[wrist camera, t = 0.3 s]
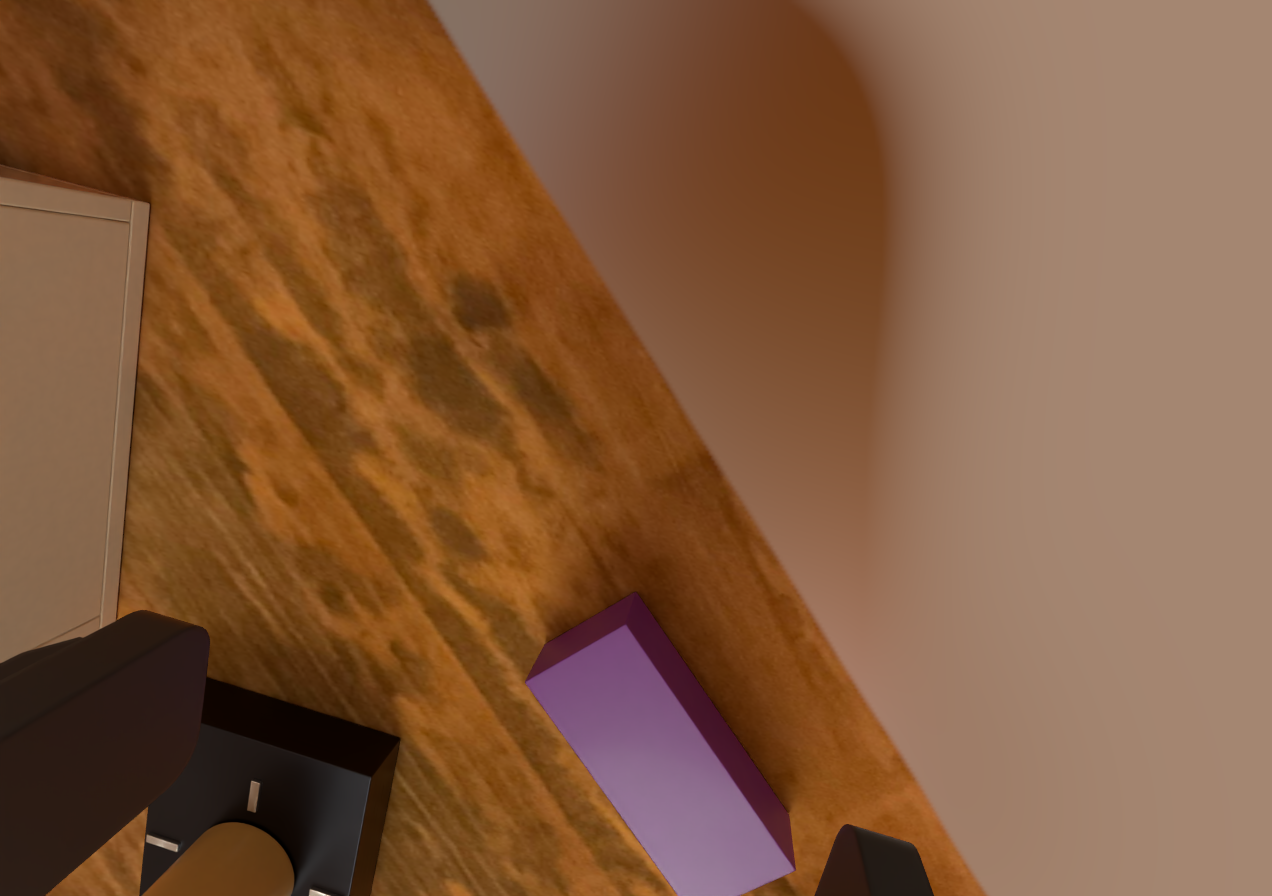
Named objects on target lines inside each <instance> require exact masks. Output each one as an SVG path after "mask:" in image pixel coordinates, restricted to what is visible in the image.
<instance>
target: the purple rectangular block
mask: <svg viewBox="0 0 1272 896" xmlns="http://www.w3.org/2000/svg"><path fill="white" fill-rule="evenodd" d="M525 683H526V684H527V686H528V687H529V689H530V690H531V691H532V693H533V694H534V696H535V697H536V698H537V700H538V701H539V703H540V704H541V705H542V707H543V708H544V710H545V711H546V712H547V714H548V715H549V716H550V718H551V719H552V721H553V722H554V723H555V725H556V726H557V728H558V729H559V730H560V732H561V733H562V735H563V736H564V737H565V739H566V740H567V742H568V743H569V744H570V746H571V747H572V749H573V750H574V751H575V753H576V754H577V756H578V757H579V758H580V760H581V761H582V763H583V764H584V765H585V767H586V768H587V770H588V771H589V772H590V774H591V775H592V777H593V778H594V779H595V781H596V782H597V784H598V785H599V786H600V788H601V789H602V790H603V792H604V793H605V795H606V796H607V797H608V799H609V800H610V802H611V803H612V804H613V806H614V807H615V809H616V810H617V811H618V813H619V814H620V816H621V817H622V818H623V820H624V821H625V823H626V824H627V825H628V827H629V828H630V830H631V831H632V832H633V834H634V835H635V837H636V838H637V839H638V841H639V842H640V844H641V845H642V846H643V848H644V849H645V851H646V852H647V853H648V855H649V856H650V858H651V859H652V860H653V862H654V863H655V864H656V866H657V867H658V869H659V870H660V871H661V873H662V874H663V876H664V877H665V878H666V880H667V881H668V883H669V884H670V885H671V887H672V888H673V890H674V891H675V892H676V894H677V895H678V896H740V895H742V894H745V893H747V892H749V891H751V890H753V889H756V888H758V887H760V886H762V885H765V884H767V883H769V882H771V881H773V880H776V879H778V878H780V877H782V876H785V875H787V874H789V873H791V872H793V871H795V870H796V868H795V860H794V851H793V843H792V835H791V827H790V818H789V814H788V813H787V811H786V810H785V808H784V807H783V805H782V804H781V802H780V801H779V800H778V798H777V797H776V795H775V794H774V792H773V791H772V789H771V788H770V786H769V785H768V784H767V782H766V781H765V779H764V778H763V776H762V775H761V773H760V772H759V770H758V769H757V767H756V766H755V765H754V763H753V762H752V760H751V759H750V757H749V756H748V754H747V753H746V751H745V750H744V748H743V747H742V746H741V744H740V743H739V741H738V740H737V738H736V737H735V735H734V734H733V732H732V731H731V730H730V728H729V727H728V725H727V724H726V722H725V721H724V719H723V718H722V716H721V715H720V713H719V712H718V711H717V709H716V708H715V706H714V705H713V703H712V702H711V700H710V699H709V697H708V696H707V694H706V693H705V692H704V690H703V689H702V687H701V686H700V684H699V683H698V681H697V680H696V678H695V677H694V675H693V674H692V673H691V671H690V670H689V668H688V667H687V665H686V664H685V662H684V661H683V659H682V658H681V657H680V655H679V654H678V652H677V651H676V649H675V648H674V646H673V645H672V643H671V642H670V640H669V639H668V638H667V636H666V635H665V633H664V632H663V630H662V629H661V627H660V626H659V624H658V623H657V621H656V620H655V619H654V617H653V616H652V614H651V613H650V611H649V610H648V608H647V607H646V605H645V604H644V603H643V601H642V600H641V598H640V597H639V595H638V594H637V592H634V593H632V594H631V595H629V596H627V597H626V598H624V599H622V600H620V601H619V602H617V603H615V604H614V605H612V606H610V607H608V608H607V609H605V610H603V611H602V612H600V613H598V614H596V615H595V616H593V617H591V618H590V619H588V620H586V621H584V622H583V623H581V624H579V625H578V626H576V627H574V628H572V629H571V630H569V631H567V632H566V633H564V634H562V635H560V636H559V637H557V638H555V639H554V640H552V641H550V642H548V643H547V644H545V645H544V647H543V649H542V651H541V652H540V654H539V656H538V658H537V660H536V662H535V664H534V666H533V667H532V669H531V671H530V673H529V675H528V677H527V679H526V681H525Z"/></svg>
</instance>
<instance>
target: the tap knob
mask: <svg viewBox="0 0 1272 896" xmlns="http://www.w3.org/2000/svg"><path fill="white" fill-rule="evenodd" d="M293 887H294V871H293V867H292V864H291V861H290V859H289V857H288V855H287V853H286V852H285V850H284V849H283V848H282V846H281V845H280V844H279V843H278V842H277V841H276V840H275V839H274V838H273V837H271V836H270V835H269V834H267V833H266V832H264V831H263V830H261V829H259V828H257V827H254V826H252V825H249V824H245V823H239V822H227V823H222V824H218V825H216V826H213V827H211V828H210V829H208V830H207V831H206V832H204V833H203V834H202V835H201V836H200V837H199V838H198V839H197V840H196V841H195V842H194V843H193V844H192V845H191V846H190V847H189V848H188V849H187V850H186V851H185V852H184V853H183V854H182V855H181V856H180V857H179V858H178V859H177V860H176V861H175V863H174V864H173V865H172V866H171V867H170V868H169V869H168V870H167V871H166V872H165V873H164V874H163V875H162V876H161V877H160V878H159V879H158V880H157V881H156V882H155V883H154V884H153V885H152V886H151V887H150V888H149V889H148V890H147V891H146V892H145V893H144V894H143V895H142V896H291V894H292V891H293Z"/></svg>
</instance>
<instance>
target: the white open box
mask: <svg viewBox="0 0 1272 896" xmlns="http://www.w3.org/2000/svg"><path fill="white" fill-rule="evenodd" d="M149 210H150V204H149V203H148V202H144V201H140V200H136V199H132V198H129V197H125V196H121V195H117V194H113V193H110V192H106V191H102V190H98V189H94V188H90V187H87V186H83V185H79V184H75V183H71V182H68V181H64V180H60V179H56V178H52V177H48V176H45V175H41V174H37V173H33V172H29V171H26V170H22V169H18V168H14V167H10V166H7V165H3V164H0V663H2V662H4V661H6V660H8V659H10V658H12V657H14V656H16V655H18V654H20V653H23V652H26V651H30V650H33V649H37V648H41V647H44V646H48V645H52V644H55V643H59V642H62V641H66V640H70V639H73V638H77V637H82V638H84V637H86V636H88V635H89V634H91V633H93V632H95V631H97V630H99V629H101V628H103V627H105V626H107V625H109V624H111V623H113V622H115V621H116V613H117V601H118V589H119V577H120V564H121V552H122V540H123V528H124V516H125V503H126V491H127V479H128V467H129V454H130V442H131V430H132V418H133V406H134V393H135V381H136V369H137V357H138V345H139V332H140V320H141V308H142V296H143V284H144V271H145V259H146V247H147V235H148V223H149Z"/></svg>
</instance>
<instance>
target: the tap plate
mask: <svg viewBox="0 0 1272 896" xmlns="http://www.w3.org/2000/svg"><path fill="white" fill-rule="evenodd" d="M399 744H400V738H398V737H394V736H391V735H388V734H385V733H382V732H378V731H375V730H372V729H369V728H366V727H362V726H359V725H356V724H353V723H350V722H346V721H343V720H340V719H337V718H334V717H330V716H327V715H324V714H321V713H318V712H315V711H311V710H308V709H305V708H302V707H299V706H295V705H292V704H289V703H286V702H283V701H279V700H276V699H273V698H270V697H267V696H263V695H260V694H257V693H254V692H251V691H247V690H244V689H241V688H238V687H235V686H231V685H228V684H225V683H222V682H219V681H215V680H212V679H209V678H206V683H205V692H204V700H203V709H202V717H201V726H200V733H199V738H198V742H197V745H196V747H195V750H194V752H193V754H192V756H191V759H190V760H189V762H188V764H187V766H186V767H185V769H184V770H183V772H182V773H181V774H180V776H179V777H178V778H177V780H176V781H175V782H174V783H173V784H172V785H171V786H170V787H169V788H168V789H167V790H166V791H165V792H164V793H163V794H161V795H160V796H159V797H158V798H157V799H156V800H154V801H153V802H152V803H151V804H150V805H149V806H148V814H147V824H146V834H145V844H144V854H143V864H142V874H141V884H140V894H139V896H142V895H143V894H144V893H145V892H146V891H147V890H148V889H149V888H150V887H151V886H152V885H153V884H154V883H155V882H156V881H157V880H158V879H159V878H160V877H161V876H162V875H163V874H164V873H165V872H166V871H167V870H168V869H169V868H170V867H171V866H172V865H173V864H174V863H175V861H176V860H177V859H178V858H179V857H180V856H181V855H182V854H183V853H184V852H185V851H186V850H187V849H188V848H189V847H190V846H191V845H192V844H193V843H194V842H195V841H196V840H197V839H198V838H199V837H200V836H201V835H202V834H203V833H204V832H206V831H207V830H208V829H210V828H211V827H213V826H216V825H218V824H222V823H227V822H239V823H245V824H249V825H252V826H254V827H257V828H259V829H261V830H263V831H264V832H266V833H267V834H269V835H270V836H271V837H273V838H274V839H275V840H276V841H277V842H278V843H279V844H280V845H281V846H282V848H283V849H284V850H285V852H286V853H287V855H288V857H289V859H290V861H291V864H292V867H293V871H294V887H293V891H292V894H291V896H370V893H371V887H372V882H373V877H374V872H375V867H376V862H377V857H378V852H379V846H380V841H381V836H382V831H383V826H384V821H385V816H386V811H387V805H388V800H389V795H390V790H391V785H392V780H393V775H394V770H395V764H396V759H397V754H398V749H399Z"/></svg>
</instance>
